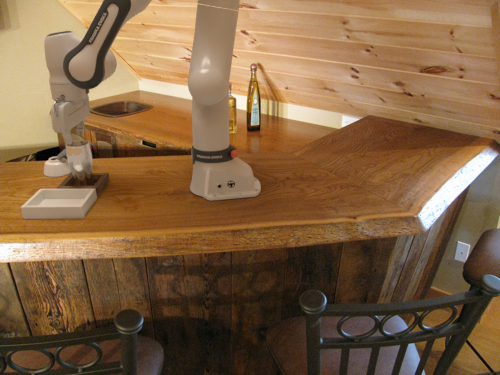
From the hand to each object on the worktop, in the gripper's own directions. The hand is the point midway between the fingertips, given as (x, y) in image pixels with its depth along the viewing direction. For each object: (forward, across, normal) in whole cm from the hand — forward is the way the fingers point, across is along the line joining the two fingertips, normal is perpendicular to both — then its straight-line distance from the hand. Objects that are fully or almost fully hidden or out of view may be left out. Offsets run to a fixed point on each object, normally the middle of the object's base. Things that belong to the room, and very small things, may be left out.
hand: (75, 138), depth 120 cm
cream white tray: (+16, -14, +1) cm, 21 cm away
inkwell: (+17, +16, +9) cm, 25 cm away
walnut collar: (+16, 0, -1) cm, 16 cm away
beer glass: (+17, 0, -1) cm, 17 cm away
